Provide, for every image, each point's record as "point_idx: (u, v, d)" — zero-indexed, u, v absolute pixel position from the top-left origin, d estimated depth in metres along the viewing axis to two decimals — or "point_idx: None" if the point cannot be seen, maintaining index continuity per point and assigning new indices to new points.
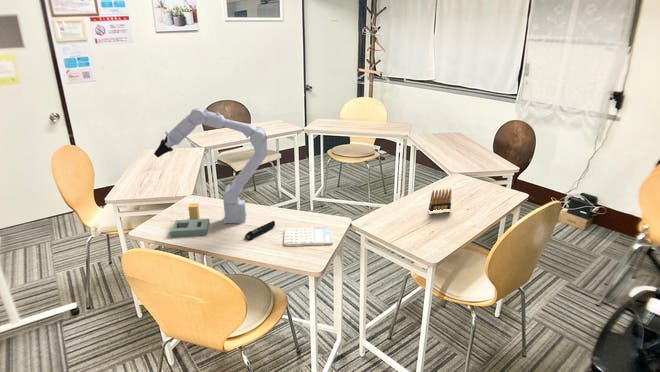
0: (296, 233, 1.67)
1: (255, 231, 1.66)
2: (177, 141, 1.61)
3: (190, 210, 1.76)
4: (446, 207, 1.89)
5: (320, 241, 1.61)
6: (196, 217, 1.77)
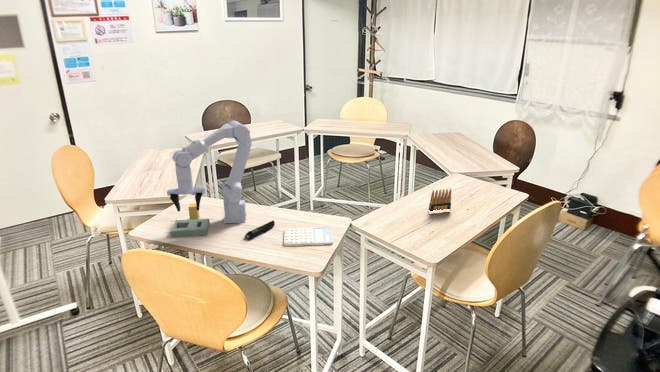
0: (296, 233, 1.67)
1: (255, 231, 1.66)
2: None
3: (190, 210, 1.76)
4: (446, 207, 1.89)
5: (320, 241, 1.61)
6: (196, 217, 1.77)
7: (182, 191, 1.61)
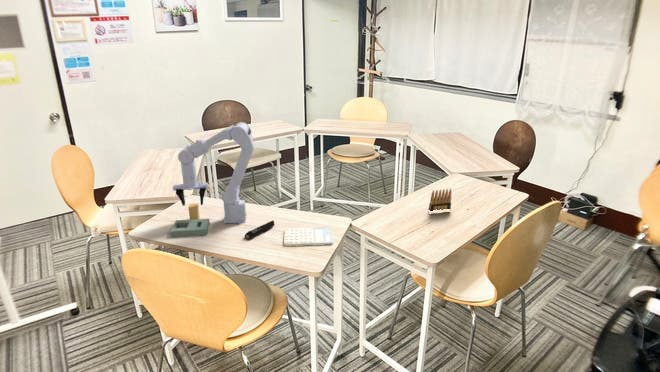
0: (296, 233, 1.67)
1: (255, 231, 1.66)
2: None
3: (190, 210, 1.76)
4: (446, 207, 1.89)
5: (320, 241, 1.61)
6: (196, 217, 1.77)
7: (187, 186, 1.71)
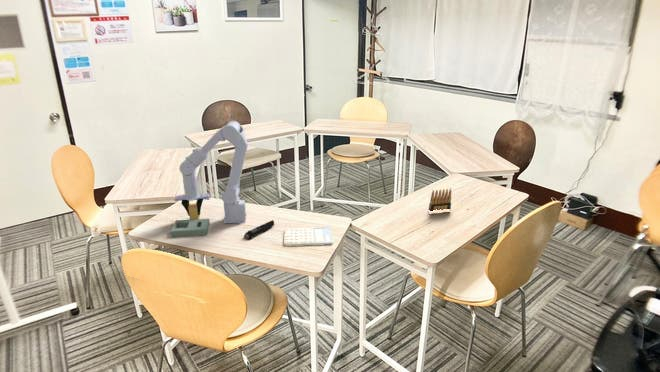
0: (296, 233, 1.67)
1: (254, 230, 1.66)
2: None
3: (190, 210, 1.76)
4: (446, 207, 1.89)
5: (320, 241, 1.61)
6: (196, 217, 1.77)
7: (188, 197, 1.72)
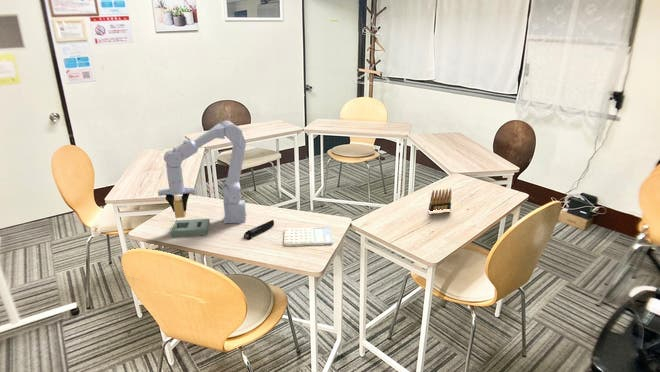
0: (296, 233, 1.67)
1: (254, 230, 1.66)
2: None
3: (175, 205, 1.64)
4: (446, 207, 1.89)
5: (320, 241, 1.61)
6: (182, 213, 1.65)
7: (173, 191, 1.60)
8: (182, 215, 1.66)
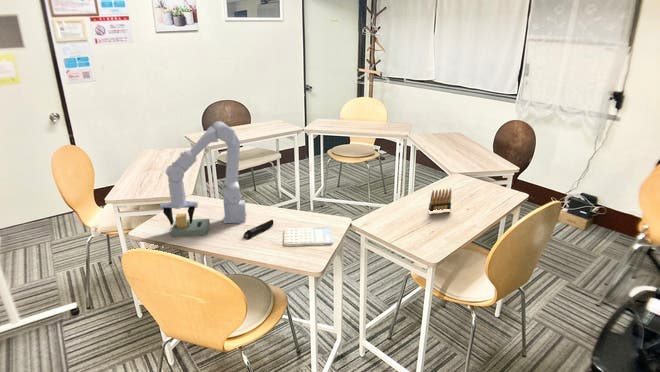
0: (296, 233, 1.67)
1: (254, 230, 1.67)
2: None
3: (177, 221, 1.66)
4: (446, 207, 1.89)
5: (320, 241, 1.61)
6: None
7: (175, 205, 1.62)
8: None
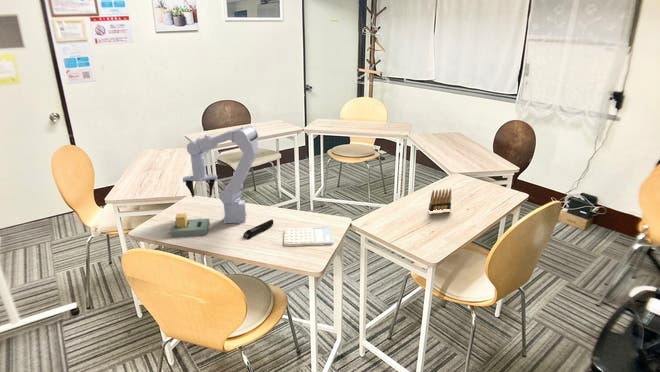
0: (296, 233, 1.67)
1: (253, 229, 1.67)
2: None
3: (177, 220, 1.66)
4: (446, 207, 1.89)
5: (320, 241, 1.61)
6: None
7: (197, 178, 1.75)
8: None
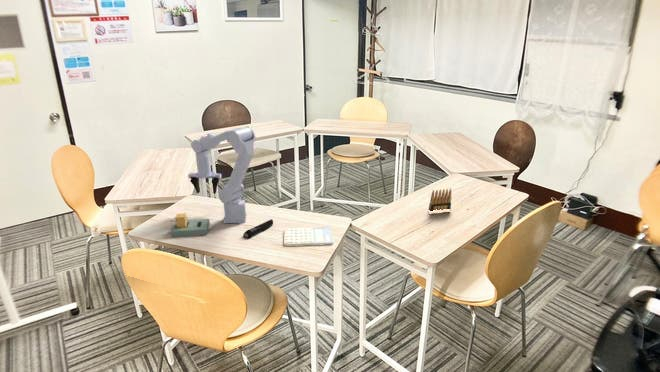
0: (296, 233, 1.67)
1: (253, 230, 1.67)
2: None
3: (177, 220, 1.66)
4: (446, 207, 1.89)
5: (320, 241, 1.61)
6: None
7: (200, 175, 1.78)
8: None
